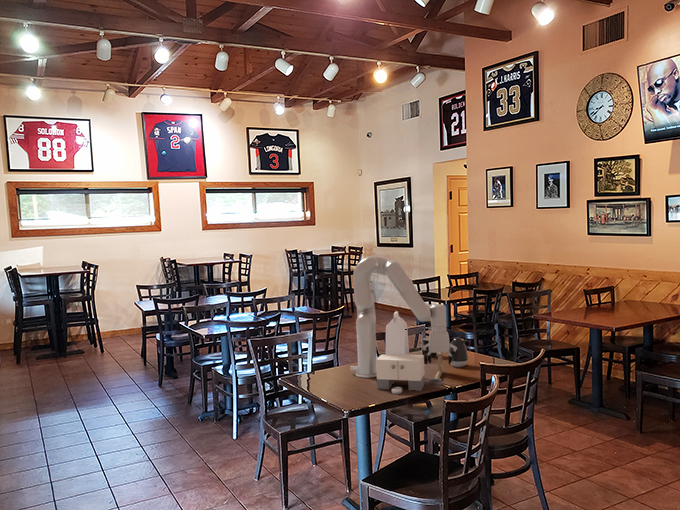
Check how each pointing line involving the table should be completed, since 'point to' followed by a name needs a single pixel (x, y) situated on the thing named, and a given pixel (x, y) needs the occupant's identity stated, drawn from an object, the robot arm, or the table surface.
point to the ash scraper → (440, 365)
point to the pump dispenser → (459, 353)
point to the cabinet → (400, 370)
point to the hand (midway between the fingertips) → (439, 363)
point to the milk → (397, 336)
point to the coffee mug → (426, 341)
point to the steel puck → (396, 390)
